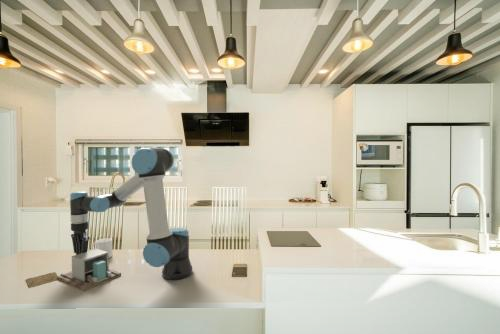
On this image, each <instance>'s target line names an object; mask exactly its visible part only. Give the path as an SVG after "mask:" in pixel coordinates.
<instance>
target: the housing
mask: <svg viewBox="0 0 500 334" xmlns="http://www.w3.org/2000/svg"><path fill="white" fill-rule="evenodd" d="M99 260H103V261H106V271H109V269H110V268H109V258H108V252H106V251H103V250H99V249H97V248H94V250H92V249H91V250H87V252H84V253H81V254H78V255H76V254H75V255H72V256H71V271H72V277H73V278H75V279H78V280H80V281H83V282H85V273H86V272H89V271H92V270H93V263H94V262H96V261H99Z"/></svg>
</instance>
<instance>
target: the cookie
mask: <svg viewBox="0 0 500 334" xmlns="http://www.w3.org/2000/svg"><path fill="white" fill-rule="evenodd" d="M57 276H58V275H57V273H56V272H49V273H46V274H42V275H38V276H34V277H29V278H26V279H25V282H26V284H27V287H28V289H30V288H35V287H39V286H41V285H45V284H49V283H52V282H56V281H60V280H59V279H58V278H57Z"/></svg>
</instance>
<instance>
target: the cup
mask: <svg viewBox="0 0 500 334" xmlns="http://www.w3.org/2000/svg"><path fill="white" fill-rule="evenodd" d="M95 245H96V249H99V250H103V251H106V252H108V259H110V258H111V257H112V256H113V238H110V237H104V238H100V239H97V240H96V241H94V242H93V243H92V245H91V250H94V249H95Z"/></svg>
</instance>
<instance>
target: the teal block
mask: <svg viewBox="0 0 500 334" xmlns="http://www.w3.org/2000/svg"><path fill="white" fill-rule="evenodd" d="M93 277H96V278H97V281H99V280H102V279H104V278H106V261H103V260H99V261H96V262H94V263H93Z"/></svg>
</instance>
